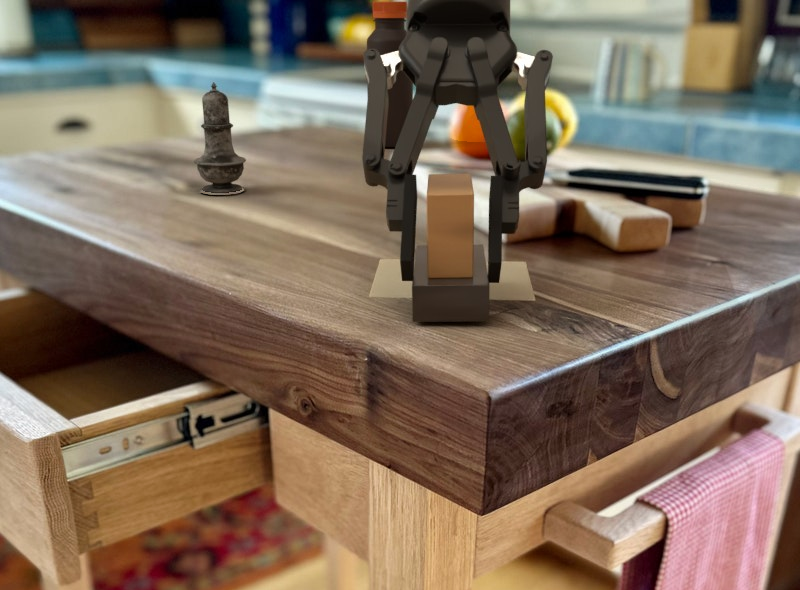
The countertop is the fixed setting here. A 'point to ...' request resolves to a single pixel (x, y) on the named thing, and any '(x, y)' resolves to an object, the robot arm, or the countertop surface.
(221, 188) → the salt shaker
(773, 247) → the countertop surface
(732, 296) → the countertop surface
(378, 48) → the bottle
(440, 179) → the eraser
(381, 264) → the memo board
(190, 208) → the countertop surface
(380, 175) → the robot arm
